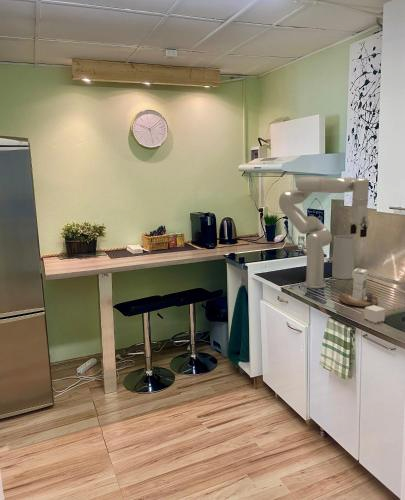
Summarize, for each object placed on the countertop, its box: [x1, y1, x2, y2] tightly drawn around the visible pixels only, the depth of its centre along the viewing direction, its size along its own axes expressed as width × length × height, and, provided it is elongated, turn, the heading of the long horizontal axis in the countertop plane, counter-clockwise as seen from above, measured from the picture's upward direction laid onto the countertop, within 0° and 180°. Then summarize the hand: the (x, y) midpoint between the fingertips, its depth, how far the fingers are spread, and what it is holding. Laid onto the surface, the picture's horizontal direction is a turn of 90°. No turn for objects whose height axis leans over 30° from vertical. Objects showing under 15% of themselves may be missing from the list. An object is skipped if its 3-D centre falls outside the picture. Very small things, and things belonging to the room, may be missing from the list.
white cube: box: [363, 304, 386, 323], centre depth 187 cm, size 6×6×6 cm
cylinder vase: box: [331, 235, 356, 281], centre depth 254 cm, size 12×12×25 cm
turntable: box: [339, 291, 378, 307], centre depth 211 cm, size 18×18×6 cm
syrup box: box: [350, 268, 368, 300], centre depth 210 cm, size 6×6×14 cm
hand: (358, 235), depth 218 cm, fingers open, 9 cm apart
